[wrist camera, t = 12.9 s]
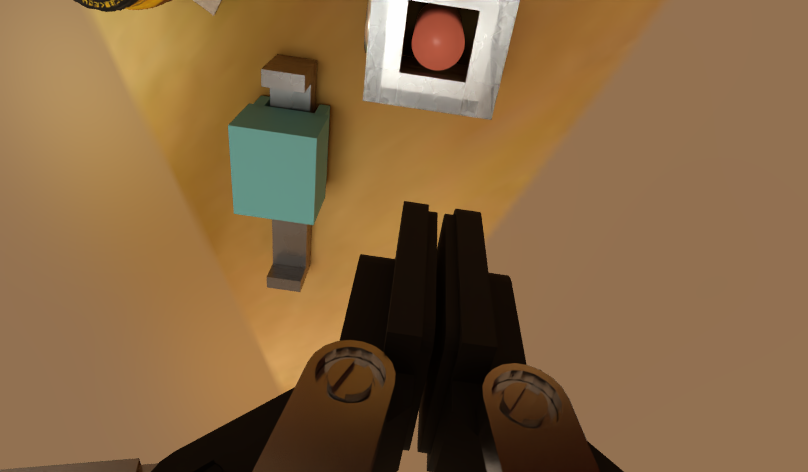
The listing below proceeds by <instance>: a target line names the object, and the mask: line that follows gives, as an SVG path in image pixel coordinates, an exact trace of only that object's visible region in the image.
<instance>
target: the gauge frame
mask: <svg viewBox="0 0 808 472" xmlns="http://www.w3.org/2000/svg"><path fill="white" fill-rule="evenodd" d="M414 1H420V2H427V3H433V4H440V5H446V6H453V7H459V8H466V9H472V10H479V12H478V17H477V22H476V27H475V32H474V37H473V43H472V48H471V53H470V58H469V63H468V65H463V64H456V63H455V64H454V65H453V66H451V67H449V68H447V69H444V70H431V69H428V68H426V67H424V66H423V65H421V64H420V63H419V62H418V60H417V59H416V57H410V56H404V55H402V50H403V42H404V34H405V26H406V18H407V10H408V2H409V0H368V6H367V13H366V23H365V38H364V48H365V53H367V59H366V70H365V82H364V93H363V101H370V102H377V103H383V104H390V105H397V106H403V107H410V108H417V109H423V110H430V111H436V112H443V113H450V114H456V115H463V116H470V117H476V118H483V119H490V120H491V119H492V115H493V111H494V107H495V102H496V98H497V94H498V90H499V86H500V81H501V77H502V73H503V69H504V65H505V60H506V56H507V52H508V48H509V44H510V39H511V35H512V31H513V27H514V23H515V18H516V14H517V10H518V6H519V2H520V0H414Z"/></svg>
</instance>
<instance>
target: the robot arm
mask: <svg viewBox="0 0 808 472" xmlns="http://www.w3.org/2000/svg"><path fill="white" fill-rule="evenodd" d="M428 210H429V205H427V204H421V203H414V202H407V201H404V205H403V211H402V218H401V224H400V231H399V238H398V244H397V251H396V257H395V259H390V258H383V257H376V256H369V255H362V254H361V255H360V257H359V261H358V265H357V270H356V274H355V278H354V282H353V287H352V291H351V295H350V299H349V304H348V308H347V312H346V316H345V321H344V325H343V329H342V333H341V337H340V341H336V342H333V343H331V344H328V345H325V346H323V347H322V348H321V349H319V350H318V351H316V352H315V353H314V354H313V356H312V357H311V358H310V360H309V361H308V362H307V364H306V366H305V368H304V370H303V372H302V374H301V376H300V378H299V380H298V382H297V384H296V386H295V387H294V388H293V389H291V390H289V391H287V392H285V393H283V394H281V395H279V396H278V397H276V398H274V399H272V400H270V401H268V402H266V403H265V404H263V405H261V406H259V407H257V408H256V409H254V410H252V411H250V412H248V413H246V414H244V415H242V416H240V417H238V418H236V419H235V420H233V421H231V422H229V423H227V424H225V425H223V426H222V427H220V428H218V429H216V430H214V431H212V432H210V433H208V434H207V435H205V436H203V437H201V438H199V439H197V440H196V441H194V442H192V443H190V444H188V445H186V446H184V447H182V448H180V449H179V450H177V451H175V452H173V453H172V454H170V455H169V456H168V457H166V458H165V459H163V460H162V461H160V462H159V463H157V464H145V465H141V463H140V459H139V458H137V459H124V460H112V461H100V462H88V463H77V464H64V465H51V466H40V467H27V468H15V469H3V470H0V472H397V471H398V470H399V465H400V460H401V456H402V451H403V450H408V451H409V449H410V445H411V441H412V437H413V432H414V428H415V424H416V419H417V415H418V411H419V425H418V452H422V453H427V471H429V472H623V471H622V470H621V469H620V468H619V467H618V466H616V465H615V464H614V463H613V462H612V461H610V460H609V459H608V458H607V457H606V456H604V455H603V454H602V453H601V452H600V451H598V450H597V449H596V448H595V447H594V446H593V445H591V444H590V443H589V442H588V441H587V440H586V437H585V435H584V433H583V430H582V428H581V425H580V423H579V421H578V418H577V416H576V414H575V411H574V409H573V406H572V404H571V402H570V399H569V398H568V396H567V394H566V393H565V391H564V389H563V388H562V386H560V384H558V383H557V381H555V379H554V378H552V377H551V376H549V375H548V374H546V373H544V372H543V371H542V370H539V369H537V368H534V367H532V366H529V365H526V360H525V354H524V349H523V344H522V338H521V332H520V326H519V321H518V315H517V311H516V304H515V299H514V293H513V288H512V282H511V279H510V277H509V276H507V275H500V274H493V273H488V266H487V258H486V249H485V241H484V233H483V225H482V217H481V213H480V212H475V211H468V210H461V209H455V211H454V214H453V215H450V214H445V215H444V218H443V223H442V228H441V233H440V238H439V242H438V247H437V212H430V211H428Z"/></svg>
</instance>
